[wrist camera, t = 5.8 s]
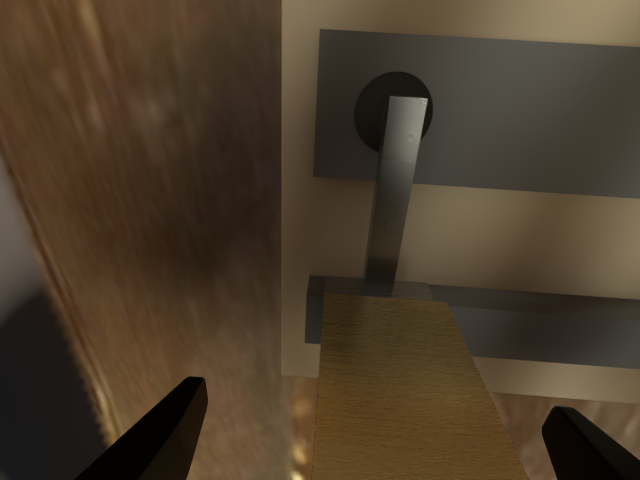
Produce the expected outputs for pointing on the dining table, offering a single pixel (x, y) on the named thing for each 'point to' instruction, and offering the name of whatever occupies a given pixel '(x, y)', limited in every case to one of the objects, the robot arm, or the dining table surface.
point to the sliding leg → (400, 354)
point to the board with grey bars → (475, 178)
